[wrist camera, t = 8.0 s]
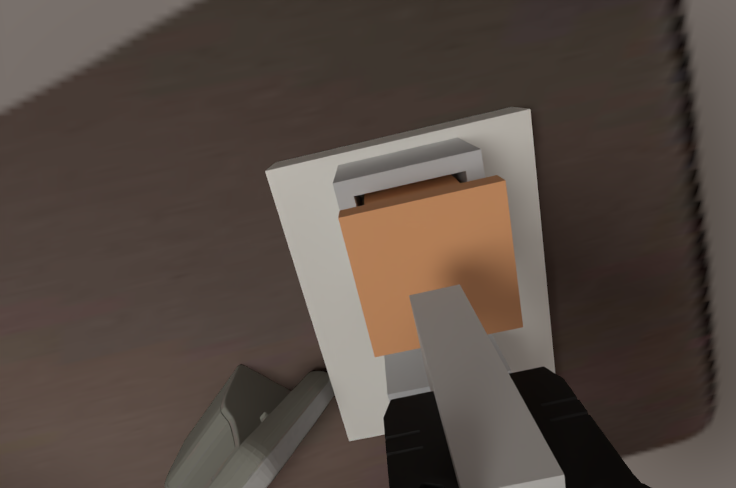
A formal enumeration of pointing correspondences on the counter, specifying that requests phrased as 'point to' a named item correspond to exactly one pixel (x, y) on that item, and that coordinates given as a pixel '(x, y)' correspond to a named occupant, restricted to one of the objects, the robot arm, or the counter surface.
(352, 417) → the button console
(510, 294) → the orange plunger
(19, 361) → the counter surface
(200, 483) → the digital clock
